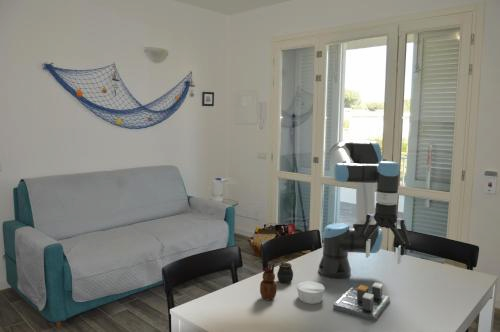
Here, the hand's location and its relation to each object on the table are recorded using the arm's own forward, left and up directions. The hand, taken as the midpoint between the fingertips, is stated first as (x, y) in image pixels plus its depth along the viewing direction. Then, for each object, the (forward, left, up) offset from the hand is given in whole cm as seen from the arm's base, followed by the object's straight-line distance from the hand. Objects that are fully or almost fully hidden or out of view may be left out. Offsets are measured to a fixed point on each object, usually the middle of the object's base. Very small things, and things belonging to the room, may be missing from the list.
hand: (383, 259), depth 149 cm
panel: (-7, 0, -20) cm, 21 cm away
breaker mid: (-7, 0, -18) cm, 19 cm away
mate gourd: (-43, +2, -20) cm, 48 cm away
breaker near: (-3, -6, -18) cm, 19 cm away
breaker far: (-3, +6, -18) cm, 19 cm away
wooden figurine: (-40, -17, -20) cm, 48 cm away
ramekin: (-26, -7, -20) cm, 34 cm away
